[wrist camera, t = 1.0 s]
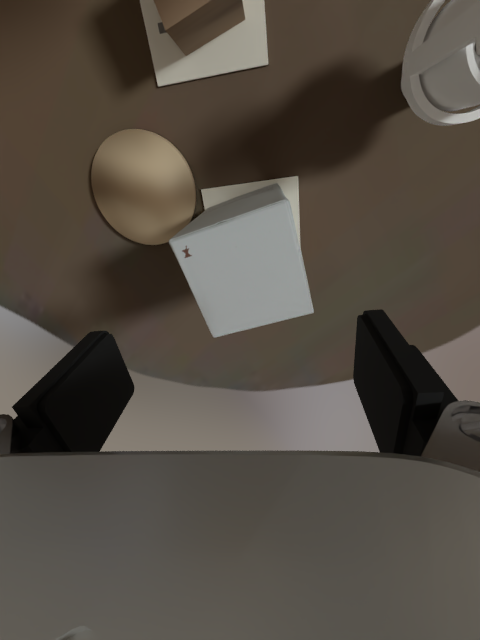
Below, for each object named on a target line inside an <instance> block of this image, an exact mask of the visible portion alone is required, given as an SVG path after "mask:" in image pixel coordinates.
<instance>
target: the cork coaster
mask: <svg viewBox="0 0 480 640" xmlns="http://www.w3.org/2000/svg"><path fill="white" fill-rule="evenodd" d="M91 183H92V189H93V194H94V197H95V200H96V203H97V205H98V207H99V209H100V211H101V213H102V214H103V216H104V217H105V219H106V220H107V221H108V222H109V224H110V225H111V226H112V227H113V228H114V229H115V230H116V231H118V232H119V233H120V234H121V235H123V236H125V237H126V238H128V239H130V240H132V241H135V242H137V243H141V244H146V245H158V244H164V243H166V242H169V240H170V239H171V238H172V237H173V236H174V235H176V234H177V233H178V232H179V231H181V230H182V229H183V228H184V227H185V226H187V225H188V224H189V223H190V221H191V220H192V217H193V215H194V211H195V207H196V186H195V181H194V177H193V174H192V172H191V169H190V167H189V165H188V163H187V161H186V160H185V158H184V157H183V155H182V154H181V153H180V152H179V150H178V149H177V148H176V147H175V146H174V145H173V144H172V143H170V142H169V141H168V140H166V139H165V138H163V137H161V136H160V135H158V134H155V133H153V132H150V131H146V130H141V129H126V130H122V131H119V132H117V133H115V134H113V135H111V136H110V137H108V138H107V139H106V140H105V141H104V142H103V143H102V144H101V146H100V147H99V149H98V151H97V153H96V155H95V157H94V160H93V164H92V170H91Z"/></svg>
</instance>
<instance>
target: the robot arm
mask: <svg viewBox="0 0 480 640" xmlns="http://www.w3.org/2000/svg"><path fill="white" fill-rule="evenodd" d="M353 377H354V384H355V387H356V389H357V392H358V395H359V397H360V400H361V403H362V405H363V408H364V411H365V413H366V416H367V419H368V421H369V424H370V427H371V429H372V432H373V435H374V437H375V440H376V443H377V445H378V448H379V451H380V453H378V452H358V451H122V452H121V451H117V452H116V451H112V452H99V451H100V450H101V448H102V446H103V444H104V443H105V441H106V439H107V438H108V436H109V434H110V432H111V431H112V429H113V427H114V426H115V424H116V422H117V420H118V419H119V417H120V415H121V414H122V412H123V410H124V408H125V407H126V405H127V403H128V401H129V400H130V398H131V397H132V395H133V392H134V384H133V382H132V379H131V377H130V375H129V372H128V370H127V367H126V365H125V363H124V360H123V358H122V356H121V353H120V351H119V349H118V346H117V344H116V341H115V339H114V337H113V335H112V334H109V333H108V332H107V331H94V332H90V333H89V334H87V335H86V336H85V337H84V338H83V339H82V340H81V341H80V342H79V343H78V344H77V345H76V346H75V347H74V348H73V349H72V350H71V351H70V352H69V353H68V354H67V355H66V356H65V357H64V358H63V359H62V360H60V361H59V362H58V363H57V364H56V365H55V366H54V367H53V368H52V369H51V370H50V371H49V372H48V373H47V374H46V375H45V376H44V377H43V378H42V379H41V380H40V381H39V382H38V383H36V384H35V385H34V386H33V388H31V389H30V390H29V391H28V392H27V393H26V394H25V395H24V396H23V397H22V398H21V399H20V400H19V401H18V402H17V403H16V404H15V405H14V406H13V407H12V408H13V409H14V411H15V412H16V413H17V415H18V416H17V417H16V418H15V419H13V418H12V417H11V416H9V415H5V414H2V415H0V640H480V403H479V402H474V401H458V400H457V399H456V397H455V396H454V395H453V393H452V392H451V391H450V390H449V388H448V387H447V386H446V384H445V383H444V382H443V381H442V379H441V378H440V377H439V375H438V374H437V373H436V372H435V370H434V369H433V368H432V366H431V365H430V364H429V363H428V361H427V360H426V359H425V357H424V356H423V355H422V354H421V352H420V351H419V350H418V348H416V347H415V346H414V345H409V344H408V343H407V342H406V340H405V339H404V338H403V336H402V335H401V333H400V332H399V331H398V329H397V328H396V327H395V325H394V324H393V323H392V321H391V320H390V319H389V317H388V316H387V315H386V313H385V312H384V311H383V310H369V311H364V312H363V315H359V316H358V318H357V331H356V345H355V359H354V374H353Z"/></svg>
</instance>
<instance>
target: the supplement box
mask: <svg viewBox="0 0 480 640" xmlns="http://www.w3.org/2000/svg"><path fill="white" fill-rule="evenodd" d="M169 244H170V246H171V248H172V250H173V252H174V254H175V256H176V258H177V260H178V263H179V265H180V267H181V269H182V271H183V273H184V275H185V277H186V279H187V281H188V284H189V286H190V288H191V290H192V293H193V295H194V297H195V299H196V301H197V304H198V306H199V308H200V310H201V312H202V314H203V317H204V319H205V321H206V323H207V326H208V328H209V330H210V332H211V334H212V336H213V337H214V338H215V337H219V336H223V335H227V334H231V333H235V332H239V331H243V330H247V329H251V328H255V327H259V326H263V325H267V324H271V323H275V322H279V321H283V320H287V319H291V318H295V317H299V316H303V315H307V314H311V313H313V312H314V310H313V305H312V300H311V296H310V291H309V286H308V281H307V277H306V272H305V267H304V263H303V258H302V254H301V249H300V245H299V240H298V236H297V231H296V227H295V222H294V218H293V213H292V209H291V204H290V201H289V200H288V199H287V198H286V197H285V195H284V193H283V191H282V189H281V187H280V186H279V185H278V183H275V184H272V185H269V186H266V187H263V188H260V189H258V190H255V191H252V192H249V193H246V194H243V195H241V196H238V197H235V198H233V199H230V200H228V201H225V202H222V203H220V204H217V205H215V206H212V207H209V208H207V209H206V210H205V211H204V212H203V213H201V214H200V215H199V216H198V217H197V218H195V219H194V220H193V221H192V222H190V223H189V224H188V225H187V226H185V227H184V228H183V229H182V230H181V231H179V232H178V233H177V234H176V235H174V236H173V237H172V238H171V239H170V240H169Z"/></svg>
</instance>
